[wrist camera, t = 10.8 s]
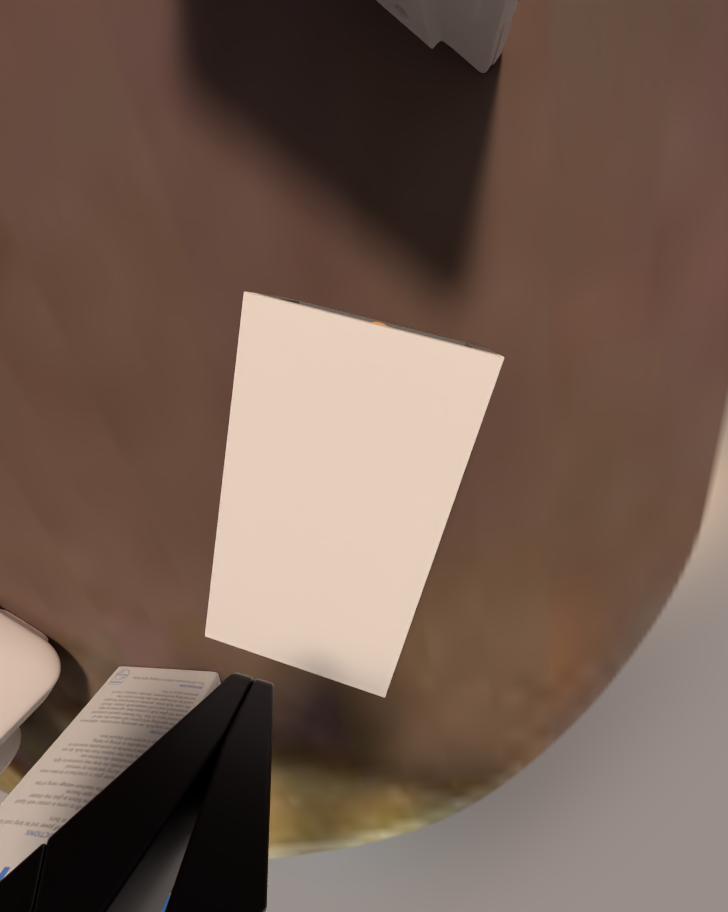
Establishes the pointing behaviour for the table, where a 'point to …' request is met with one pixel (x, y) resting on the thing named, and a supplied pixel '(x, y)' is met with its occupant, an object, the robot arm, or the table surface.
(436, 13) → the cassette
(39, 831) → the light bulb box
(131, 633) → the table surface
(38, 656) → the cable organizer
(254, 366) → the white rectangular panel
